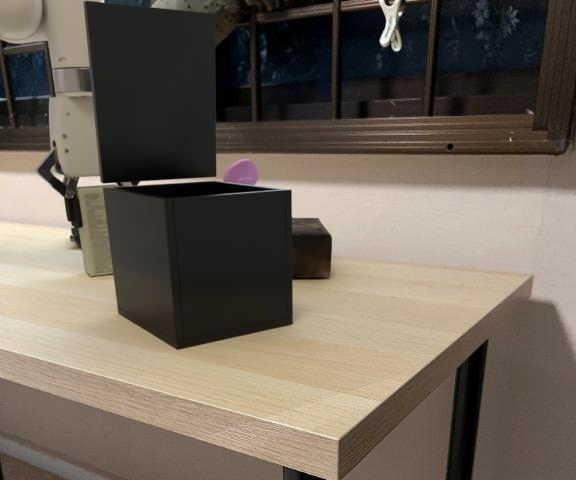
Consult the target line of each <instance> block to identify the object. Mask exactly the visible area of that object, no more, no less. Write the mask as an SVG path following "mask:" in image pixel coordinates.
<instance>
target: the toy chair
mask: <svg viewBox="0 0 576 480" xmlns="http://www.w3.org/2000/svg"><path fill="white" fill-rule="evenodd" d="M258 180H259V169H258V167H257V165H256V163H255V162H254V161H253V160H251V159H248V158H242V159H238V160H236V161H235V162H233V163H231V164H230V165H229V166H227V168H225V170H224V172H223V176H222V181H223V182H232V183H240V184H248V185H256V184H257V182H258Z"/></svg>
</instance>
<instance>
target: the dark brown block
mask: <svg viewBox="0 0 576 480" xmlns="http://www.w3.org/2000/svg"><path fill="white" fill-rule="evenodd" d="M332 254H333V236H332V235H331V232H329V231H328V229H327V228H326V227H325V225H324V224H323V223H322V222H321V220H320V218H319V217H292V279H293V278H299V279H300V278H304V279H305V278H306V279H308V278H311V279H312V278H330V276H331V272H332Z"/></svg>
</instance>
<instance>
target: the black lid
mask: <svg viewBox="0 0 576 480" xmlns="http://www.w3.org/2000/svg"><path fill="white" fill-rule="evenodd" d="M83 3H84V13H85V24H86V34H87V45H88V55H89V66H90V76H91V87H92V97H93V108H94V118H95V129H96V139H97V149H98V160H99V170H100V176H99V179H100V183H101V184H102V185H105V184H116V183H121V182H138V181H140V182H152V181H153V182H154V181H170V180H172V181H173V180H186V179H199V178H200V179H203V178H206V179H207V178H217V111H216V110H217V107H216V105H217V104H216V103H217V102H216V101H217V100H216V99H217V98H216V96H217V95H216V37H215V36H216V25H215V18H216V17H215V13H212V12H203V11H202V12H201V11H193V10H183V9H182V10H181V9H173V8H162V7H152V6H145V5H144V6H143V5H133V4H123V3H113V2H105V1H104V2H94V1H83Z"/></svg>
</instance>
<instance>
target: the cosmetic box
mask: <svg viewBox="0 0 576 480" xmlns="http://www.w3.org/2000/svg"><path fill="white" fill-rule="evenodd" d="M104 187H120V186H118V185H116V183H110V184H101V185H98V184H97V185H87V186H86V185H84V186H83V185H82V186H77V188H76V192H75V194H76V198H78V199H79V202H80V209H81V215H82V222H83V227H82V228H79V234H80V241H81V243H80V247H81V254H82V260H83V261H82V262H83V269H84V271H85V272H86V274H88V275H89V276H90V277H97V276H105V275H113V267H112V259H111V251H110V243H109V235H108V227H107V218H106V210H105V202H104V194H103V188H104Z"/></svg>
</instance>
